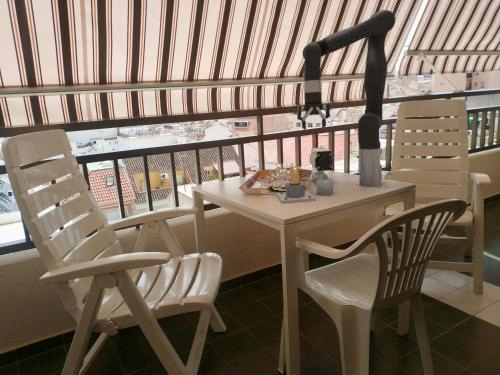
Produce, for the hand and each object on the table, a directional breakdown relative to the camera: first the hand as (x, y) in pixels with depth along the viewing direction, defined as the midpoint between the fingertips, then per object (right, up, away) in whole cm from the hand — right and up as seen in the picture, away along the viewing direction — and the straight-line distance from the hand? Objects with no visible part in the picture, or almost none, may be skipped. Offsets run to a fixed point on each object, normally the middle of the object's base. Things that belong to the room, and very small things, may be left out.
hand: (314, 128), depth 169 cm
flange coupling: (-9, -31, -6) cm, 33 cm away
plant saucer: (-11, -27, +12) cm, 32 cm away
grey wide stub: (+5, -29, -2) cm, 29 cm away
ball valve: (+7, -23, +23) cm, 33 cm away
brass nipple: (-9, -30, -6) cm, 32 cm away
